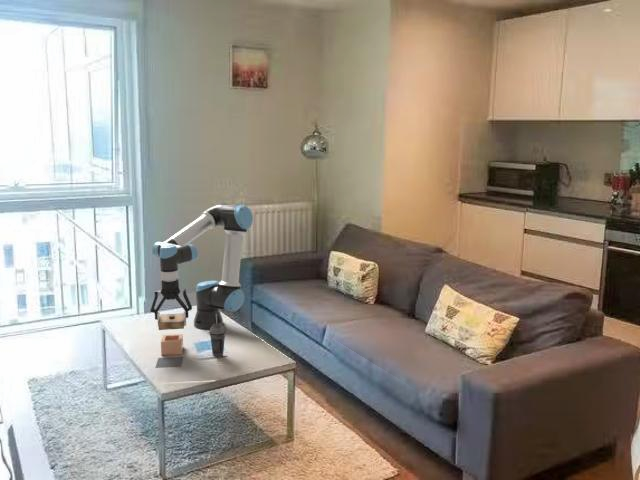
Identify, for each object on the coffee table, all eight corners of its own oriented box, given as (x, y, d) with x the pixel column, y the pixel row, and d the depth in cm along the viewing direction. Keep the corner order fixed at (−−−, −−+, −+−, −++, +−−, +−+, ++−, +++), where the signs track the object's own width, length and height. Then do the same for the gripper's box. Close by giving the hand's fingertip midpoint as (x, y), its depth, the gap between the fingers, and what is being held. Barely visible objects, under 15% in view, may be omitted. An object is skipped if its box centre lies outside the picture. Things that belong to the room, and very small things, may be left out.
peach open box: (183, 348, 278) (182, 334, 277) (181, 355, 269) (181, 341, 268) (163, 349, 277) (163, 334, 275) (161, 356, 268) (160, 341, 267)
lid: (185, 320, 276) (184, 311, 275) (183, 328, 265) (183, 319, 264) (161, 321, 274) (160, 312, 273) (158, 330, 263) (158, 320, 263)
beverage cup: (212, 360, 264) (211, 317, 261) (207, 354, 271) (206, 313, 267) (228, 357, 268) (227, 315, 264) (223, 351, 274) (222, 310, 270)
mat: (183, 358, 267) (183, 356, 266) (181, 367, 256) (181, 366, 256) (158, 359, 265) (158, 357, 265) (155, 369, 254) (155, 367, 254)
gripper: (196, 276, 270) (198, 321, 275) (144, 278, 267) (146, 323, 271) (196, 280, 263) (198, 326, 268) (141, 282, 259) (144, 329, 264)
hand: (172, 325), depth 270 cm, fingers closed on lid, 11 cm apart
